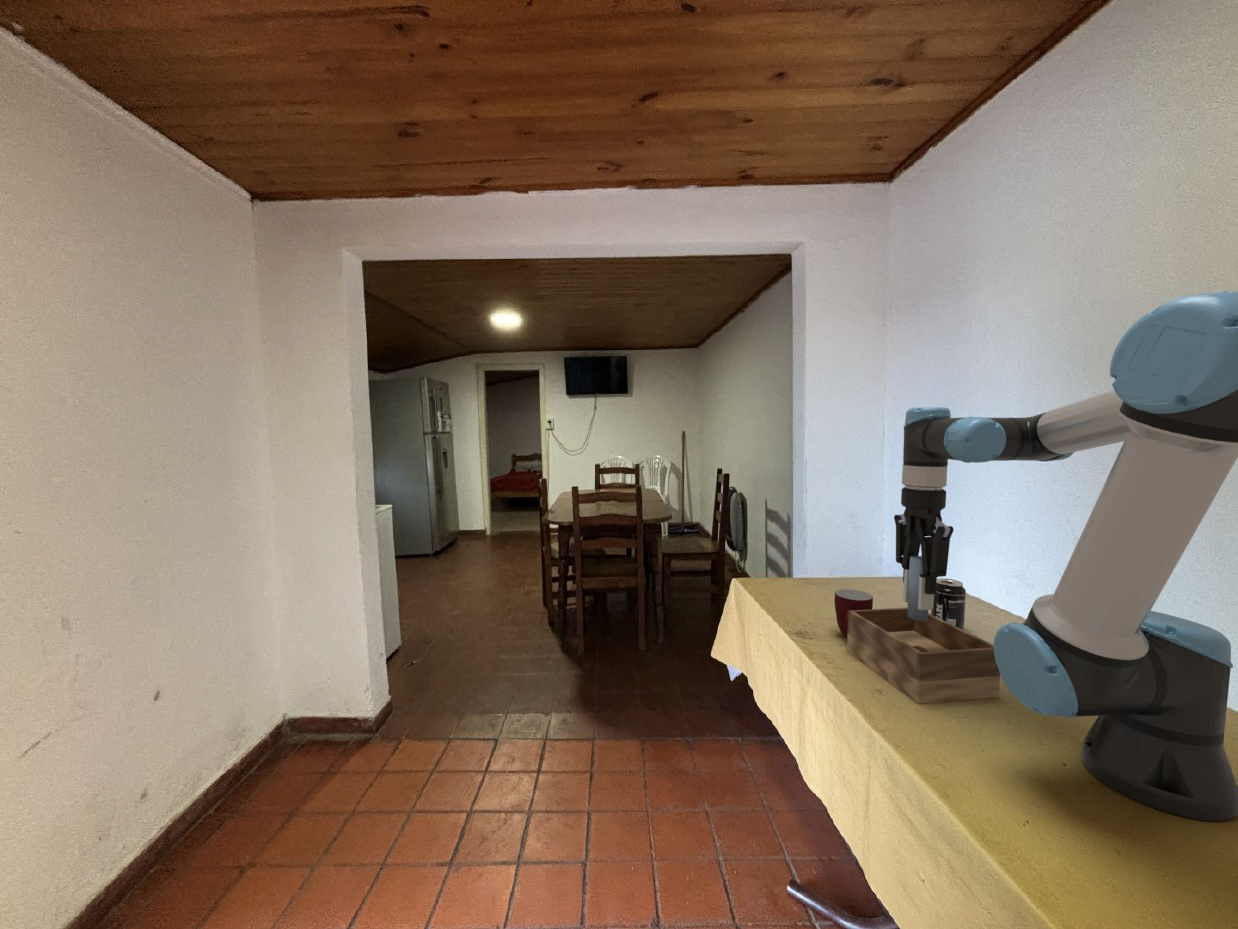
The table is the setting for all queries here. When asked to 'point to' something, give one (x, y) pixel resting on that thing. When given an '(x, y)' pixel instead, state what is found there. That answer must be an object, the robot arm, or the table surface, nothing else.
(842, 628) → the mug
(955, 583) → the beverage can
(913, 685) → the tray box
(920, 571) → the peg
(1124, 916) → the table surface
